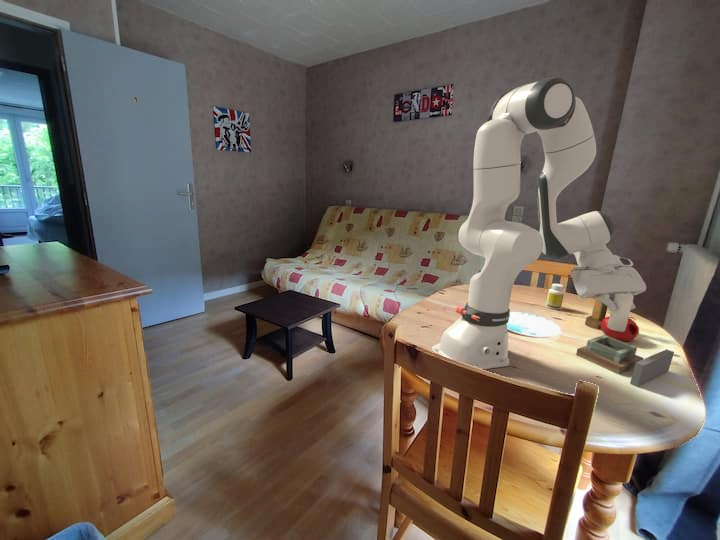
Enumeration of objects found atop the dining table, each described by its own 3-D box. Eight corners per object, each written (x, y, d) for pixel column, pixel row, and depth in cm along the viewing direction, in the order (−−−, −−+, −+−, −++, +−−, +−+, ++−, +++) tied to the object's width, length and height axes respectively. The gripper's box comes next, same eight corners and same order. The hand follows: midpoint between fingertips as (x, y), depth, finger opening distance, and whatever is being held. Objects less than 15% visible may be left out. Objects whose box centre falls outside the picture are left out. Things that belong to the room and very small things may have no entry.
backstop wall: (637, 386, 80) (643, 365, 78) (629, 383, 81) (635, 362, 79) (668, 371, 86) (674, 352, 85) (660, 368, 88) (666, 349, 86)
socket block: (618, 374, 85) (622, 357, 84) (576, 354, 94) (579, 339, 93) (641, 364, 90) (646, 348, 89) (599, 346, 100) (602, 332, 98)
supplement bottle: (563, 310, 128) (567, 287, 126) (548, 309, 129) (552, 286, 127) (557, 305, 134) (562, 283, 131) (543, 304, 135) (547, 282, 132)
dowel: (620, 332, 87) (628, 298, 85) (604, 326, 91) (611, 293, 88) (628, 329, 89) (636, 296, 86) (612, 324, 92) (619, 291, 90)
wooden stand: (586, 327, 113) (597, 279, 108) (583, 320, 119) (593, 274, 114) (609, 331, 110) (621, 281, 106) (605, 324, 116) (616, 277, 111)
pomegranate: (597, 338, 106) (602, 312, 103) (600, 328, 113) (604, 303, 111) (636, 347, 100) (642, 319, 97) (636, 336, 107) (642, 310, 105)
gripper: (576, 262, 90) (600, 307, 83) (635, 259, 93) (663, 303, 87) (561, 273, 95) (582, 316, 88) (617, 270, 99) (642, 311, 92)
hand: (623, 309), depth 88 cm, fingers closed on dowel, 4 cm apart
